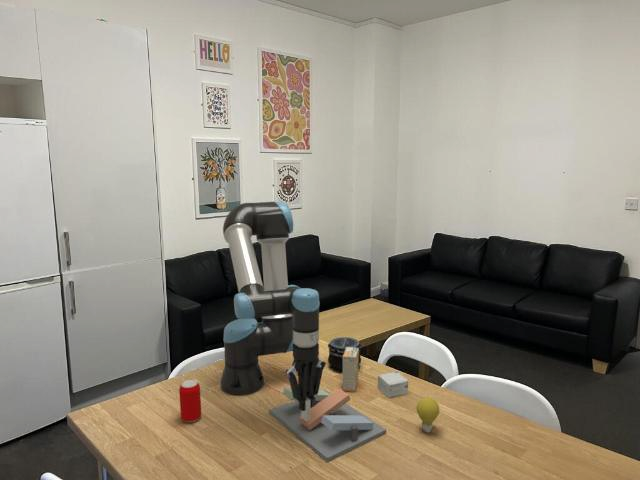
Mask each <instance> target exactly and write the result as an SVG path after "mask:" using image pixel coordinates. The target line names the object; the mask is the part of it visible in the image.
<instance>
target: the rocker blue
mask: <svg viewBox="0 0 640 480" xmlns="http://www.w3.org/2000/svg"><path fill="white" fill-rule="evenodd" d="M321 423H322V424H324V425H325V426H326V427H328V428H329V429H330V430H350V431H352V427H355V426H357V427H358V430H372V427H373V424H374V423H373V422H371V421H370V420H368V419H367V418H365V417H364V416H359V415H323V416H322V420H321Z"/></svg>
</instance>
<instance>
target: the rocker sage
mask: <svg viewBox="0 0 640 480" xmlns="http://www.w3.org/2000/svg"><path fill="white" fill-rule="evenodd" d="M326 391H327V390H326ZM326 391H324V389H323V388H322V389H320V388H319V392H318V394H317V395H314V397H315V398H316V401H322V400H323V399H325V398H326V397H328V396H329V395H330V394H329V393H330V392H329V393H327V392H326ZM282 395H283V396H284V397H286V398H287V399H289V400H290V401H295V400H297V399H295V398H294V397H293V394H292V390H291V387H284V388H283V392H282Z"/></svg>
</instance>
